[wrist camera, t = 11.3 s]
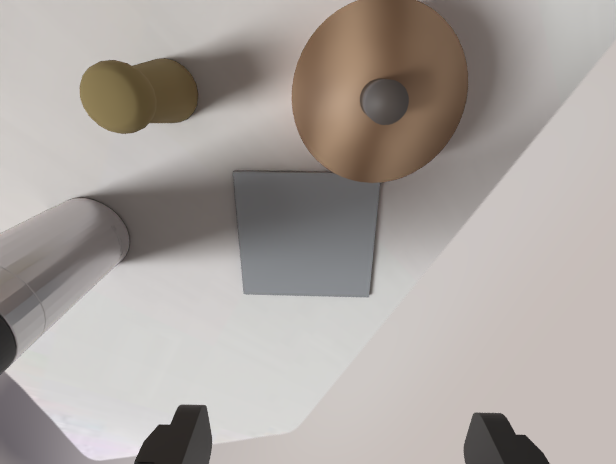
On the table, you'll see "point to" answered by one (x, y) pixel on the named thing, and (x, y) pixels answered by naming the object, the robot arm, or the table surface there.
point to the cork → (137, 94)
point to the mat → (305, 233)
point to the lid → (379, 89)
